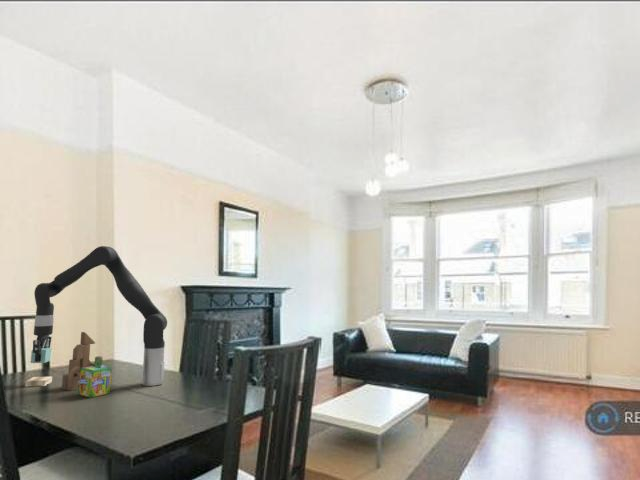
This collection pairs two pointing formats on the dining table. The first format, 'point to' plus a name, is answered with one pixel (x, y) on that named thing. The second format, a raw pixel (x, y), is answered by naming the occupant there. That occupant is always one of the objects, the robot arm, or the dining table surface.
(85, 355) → the wooden toy
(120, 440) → the dining table surface
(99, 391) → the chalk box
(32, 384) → the maple pedestal
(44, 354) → the teal cube
